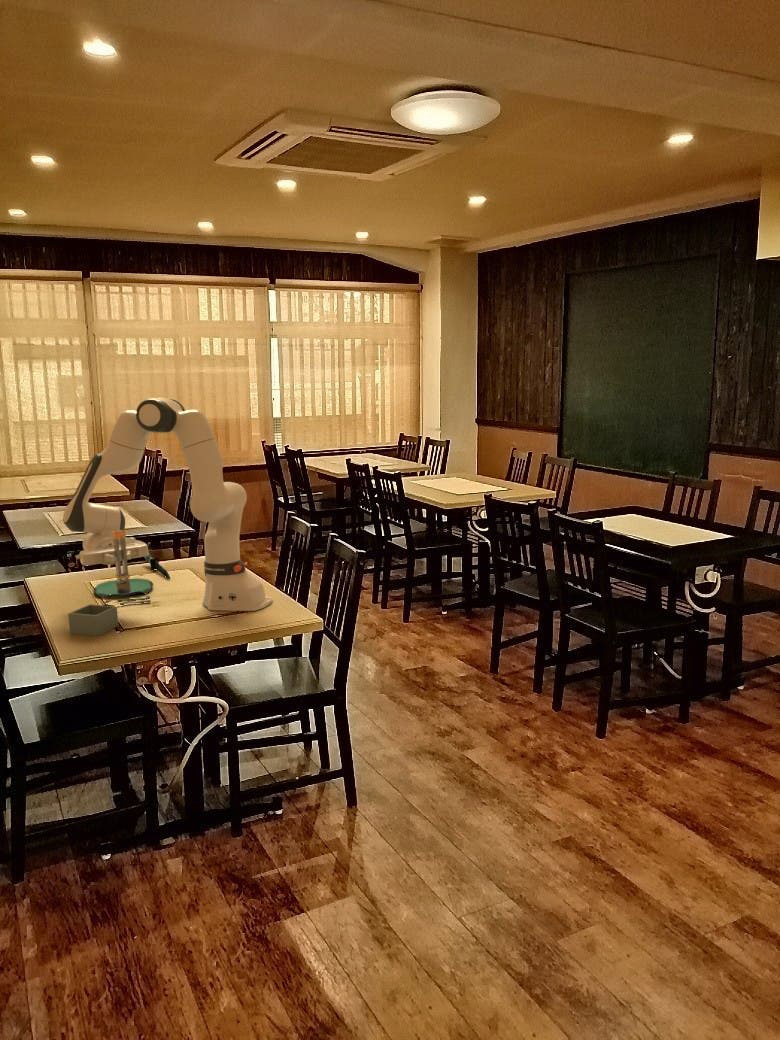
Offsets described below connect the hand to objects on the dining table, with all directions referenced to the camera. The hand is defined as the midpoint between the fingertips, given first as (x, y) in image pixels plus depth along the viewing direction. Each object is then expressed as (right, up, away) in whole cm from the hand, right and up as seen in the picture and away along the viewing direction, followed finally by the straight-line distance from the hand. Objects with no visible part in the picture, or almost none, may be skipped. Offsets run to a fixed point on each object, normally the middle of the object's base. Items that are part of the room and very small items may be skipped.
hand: (121, 558), depth 242 cm
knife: (-7, -8, +61) cm, 62 cm away
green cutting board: (-9, -15, +31) cm, 35 cm away
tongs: (0, -10, +3) cm, 11 cm away
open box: (-6, -21, -6) cm, 23 cm away
